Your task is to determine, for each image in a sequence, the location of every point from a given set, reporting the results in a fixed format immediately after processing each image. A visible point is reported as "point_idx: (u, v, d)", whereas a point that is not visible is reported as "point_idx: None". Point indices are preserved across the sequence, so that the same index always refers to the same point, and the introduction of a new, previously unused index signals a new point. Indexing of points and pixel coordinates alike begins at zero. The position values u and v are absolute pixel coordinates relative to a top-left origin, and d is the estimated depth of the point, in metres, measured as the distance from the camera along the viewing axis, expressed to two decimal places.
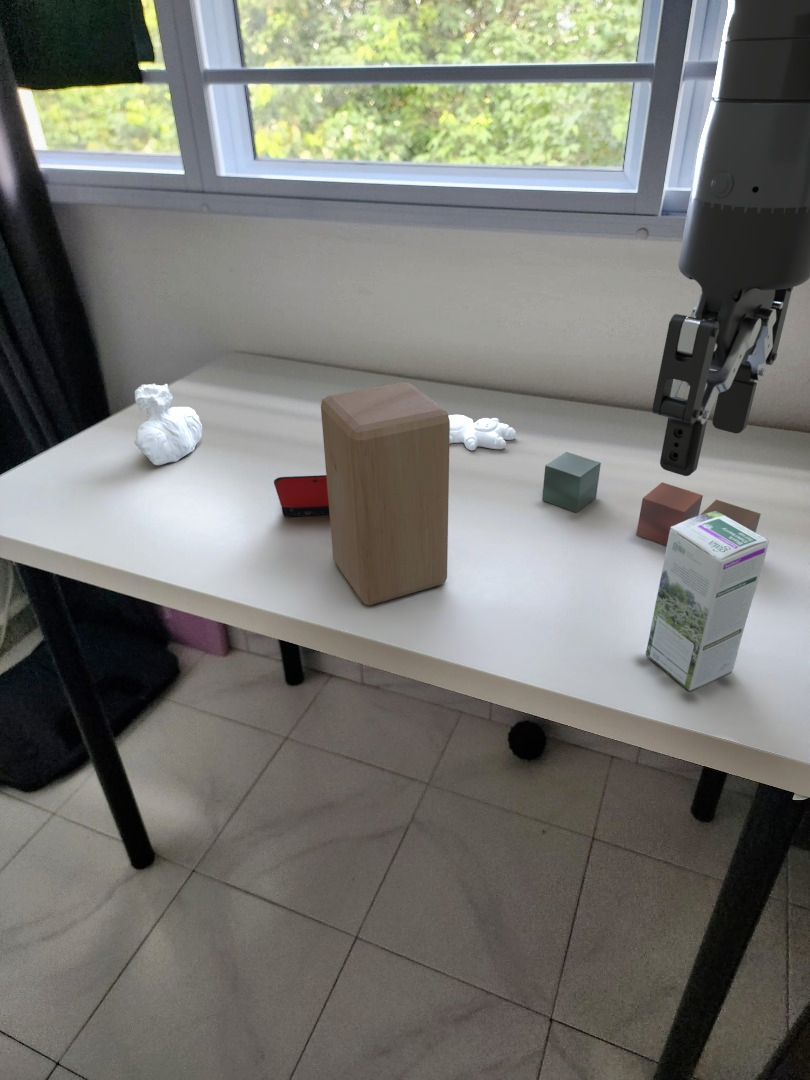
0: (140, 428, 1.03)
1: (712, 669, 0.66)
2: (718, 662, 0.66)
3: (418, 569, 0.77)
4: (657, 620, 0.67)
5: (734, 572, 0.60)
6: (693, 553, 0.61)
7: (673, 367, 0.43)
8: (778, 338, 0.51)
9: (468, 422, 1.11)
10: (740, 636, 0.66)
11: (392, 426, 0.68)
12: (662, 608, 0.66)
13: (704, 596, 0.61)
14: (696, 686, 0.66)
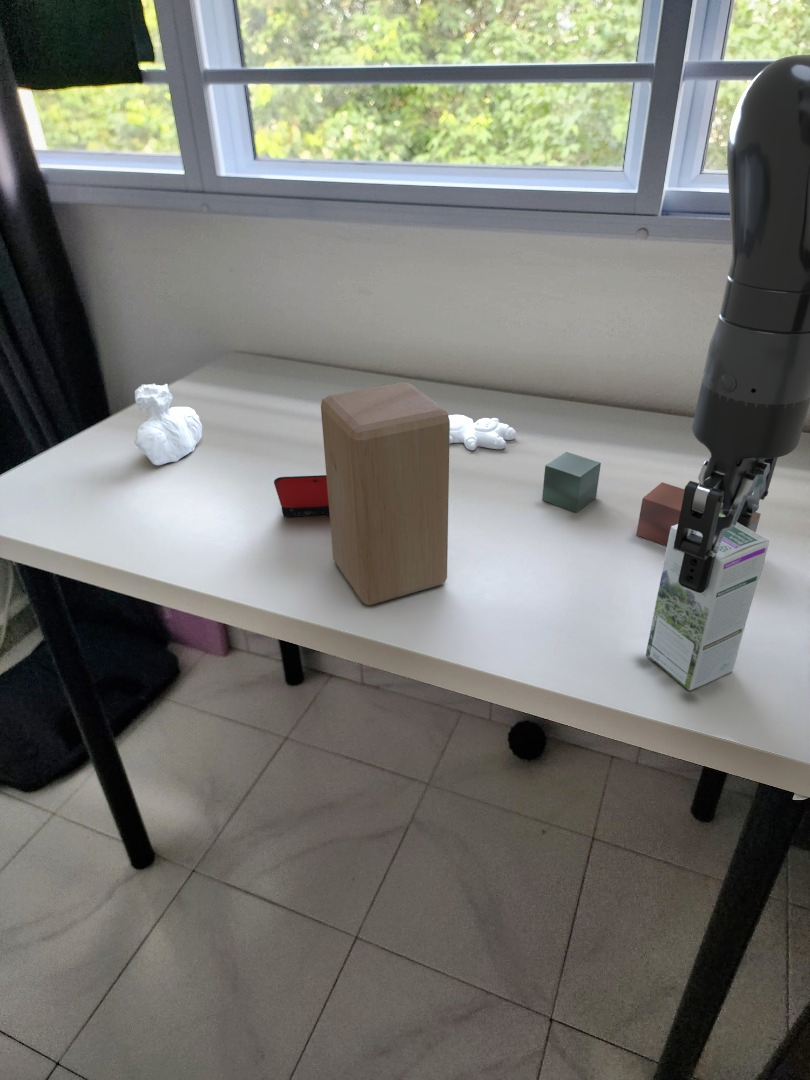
0: (140, 428, 1.03)
1: (712, 669, 0.66)
2: (718, 662, 0.66)
3: (418, 569, 0.77)
4: (657, 620, 0.67)
5: (735, 572, 0.60)
6: None
7: (689, 520, 0.55)
8: (769, 479, 0.63)
9: (468, 422, 1.11)
10: (740, 636, 0.66)
11: (392, 426, 0.68)
12: (662, 607, 0.66)
13: (704, 595, 0.61)
14: (696, 686, 0.66)
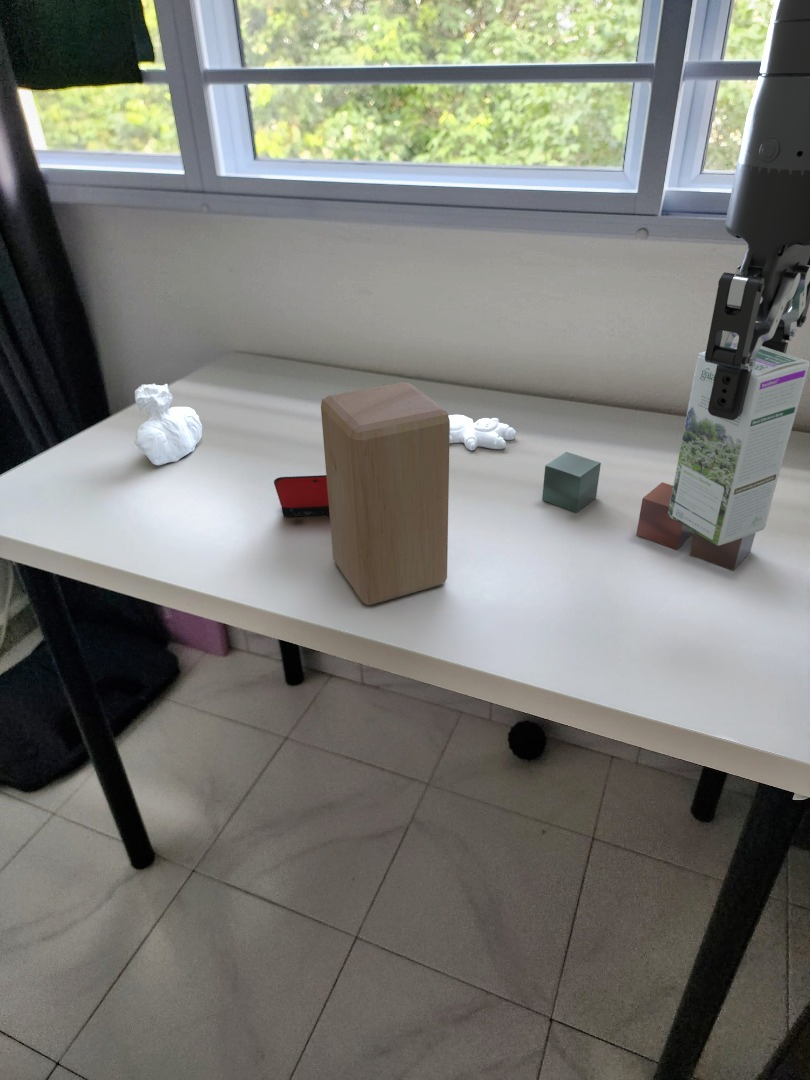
0: (140, 428, 1.03)
1: (742, 522, 0.59)
2: (749, 514, 0.59)
3: (418, 569, 0.77)
4: (681, 470, 0.61)
5: (771, 396, 0.54)
6: None
7: (723, 320, 0.49)
8: (808, 302, 0.57)
9: (468, 422, 1.11)
10: (774, 484, 0.59)
11: (392, 426, 0.68)
12: (688, 453, 0.59)
13: (737, 425, 0.54)
14: (725, 540, 0.60)
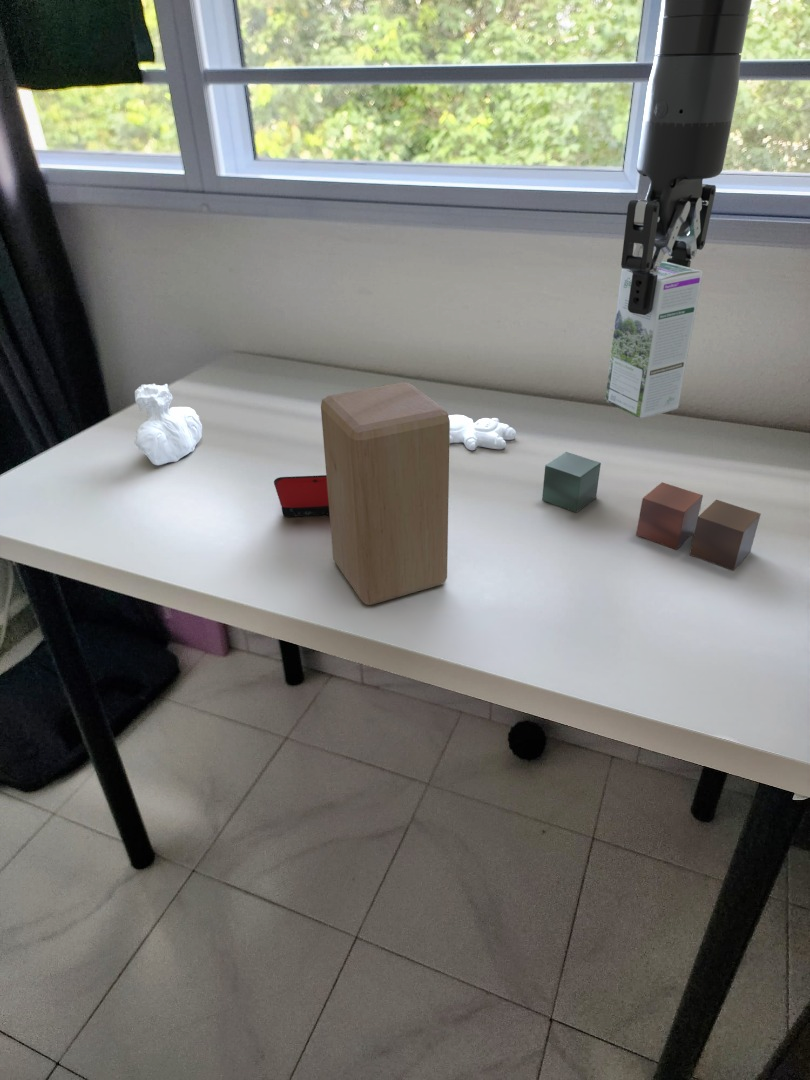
0: (140, 428, 1.03)
1: (659, 400, 0.78)
2: (664, 394, 0.78)
3: (418, 569, 0.77)
4: (613, 362, 0.79)
5: (674, 296, 0.72)
6: None
7: (632, 235, 0.67)
8: (705, 230, 0.75)
9: (468, 422, 1.11)
10: (683, 371, 0.78)
11: (392, 426, 0.68)
12: (617, 347, 0.78)
13: (649, 319, 0.73)
14: (645, 414, 0.78)
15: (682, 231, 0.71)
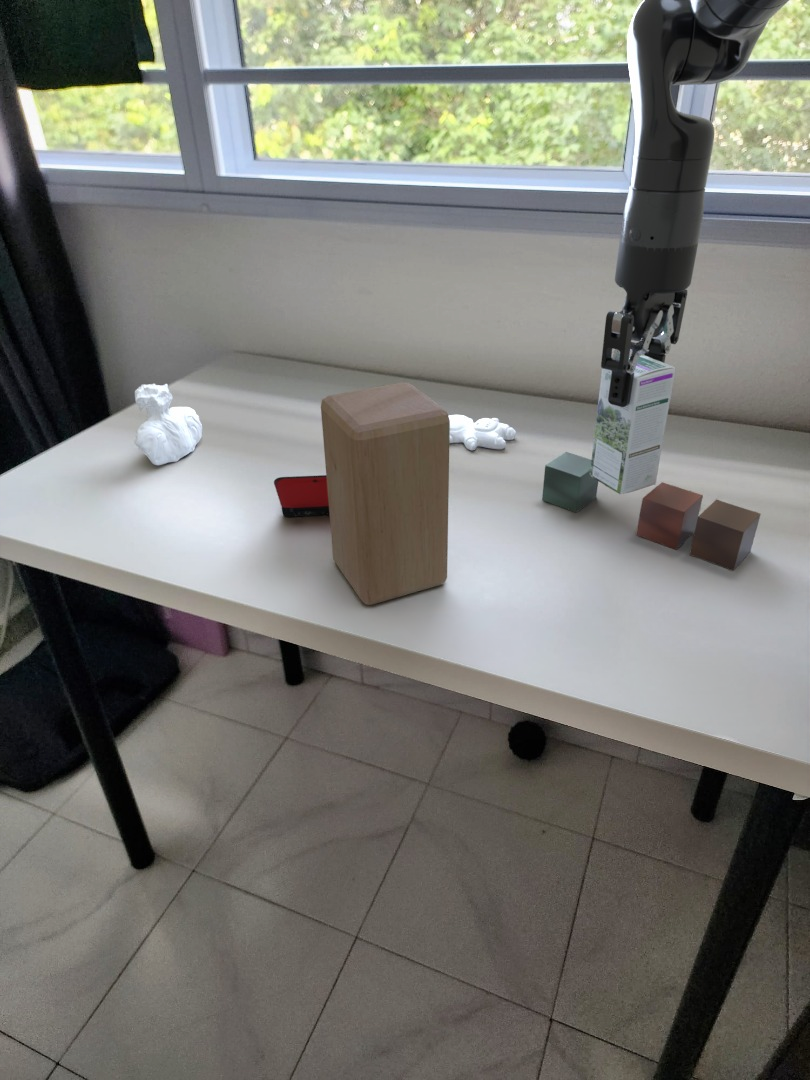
0: (140, 428, 1.03)
1: (637, 478, 0.86)
2: (642, 472, 0.86)
3: (418, 569, 0.77)
4: (596, 443, 0.87)
5: (649, 390, 0.80)
6: None
7: (610, 341, 0.75)
8: (679, 327, 0.83)
9: (468, 422, 1.11)
10: (659, 452, 0.86)
11: (392, 426, 0.68)
12: (600, 430, 0.86)
13: (627, 410, 0.81)
14: (625, 491, 0.86)
15: (656, 333, 0.79)
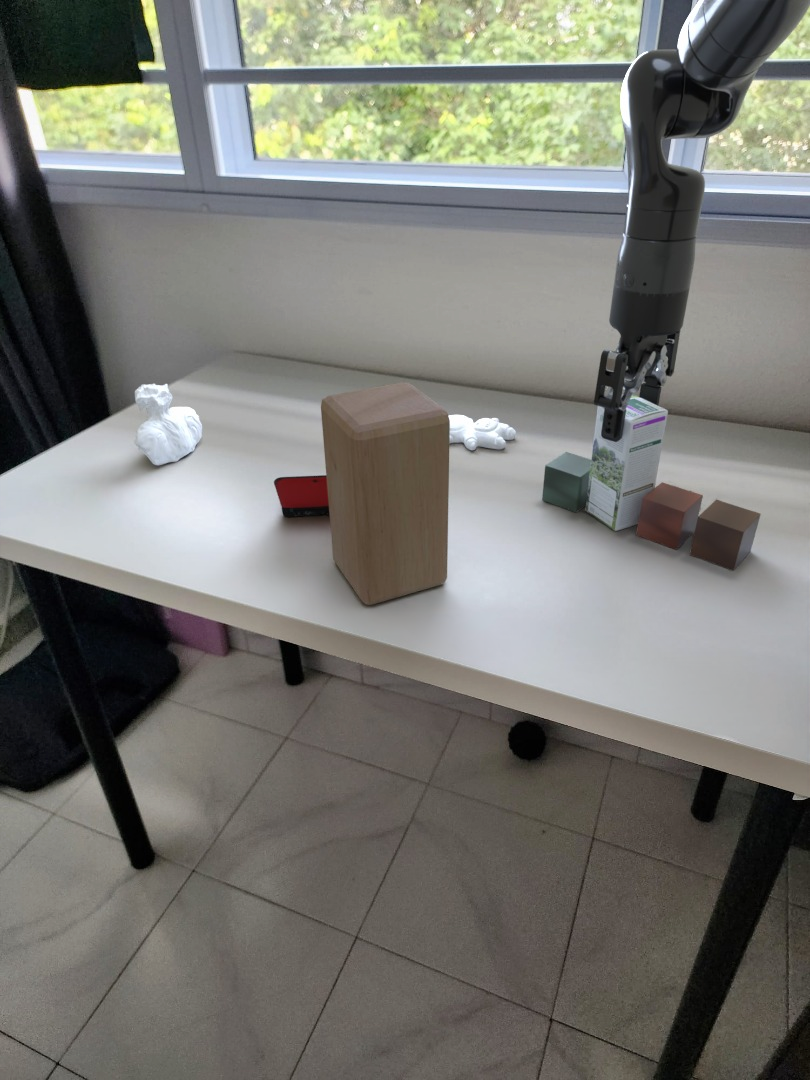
0: (140, 428, 1.03)
1: (631, 515, 0.89)
2: (636, 509, 0.88)
3: (418, 569, 0.77)
4: (591, 480, 0.90)
5: (642, 433, 0.83)
6: None
7: (604, 379, 0.77)
8: (674, 360, 0.86)
9: (468, 422, 1.11)
10: (652, 489, 0.88)
11: (392, 426, 0.68)
12: (595, 469, 0.89)
13: (621, 451, 0.83)
14: (620, 527, 0.89)
15: (651, 371, 0.82)
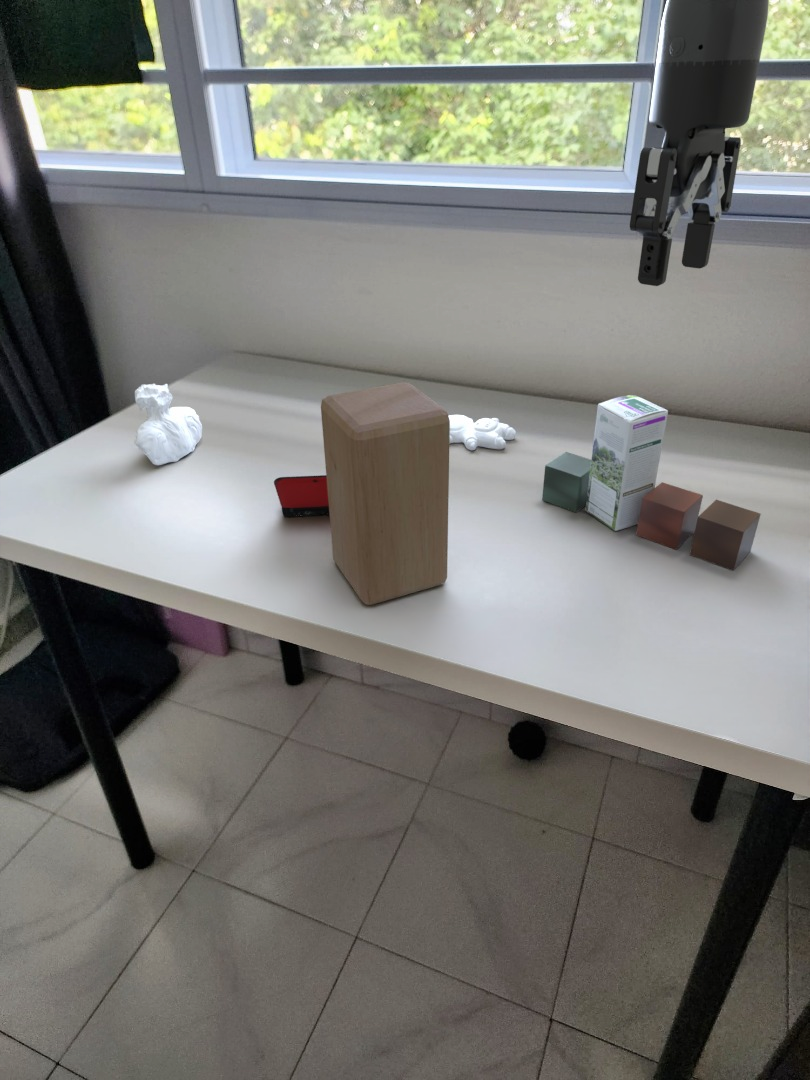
0: (140, 428, 1.03)
1: (631, 515, 0.89)
2: (636, 509, 0.88)
3: (418, 569, 0.77)
4: (591, 480, 0.90)
5: (642, 433, 0.83)
6: (613, 420, 0.83)
7: (644, 188, 0.58)
8: (731, 189, 0.66)
9: (468, 422, 1.11)
10: (652, 489, 0.88)
11: (392, 426, 0.68)
12: (595, 469, 0.89)
13: (621, 451, 0.83)
14: (620, 527, 0.89)
15: (703, 193, 0.63)
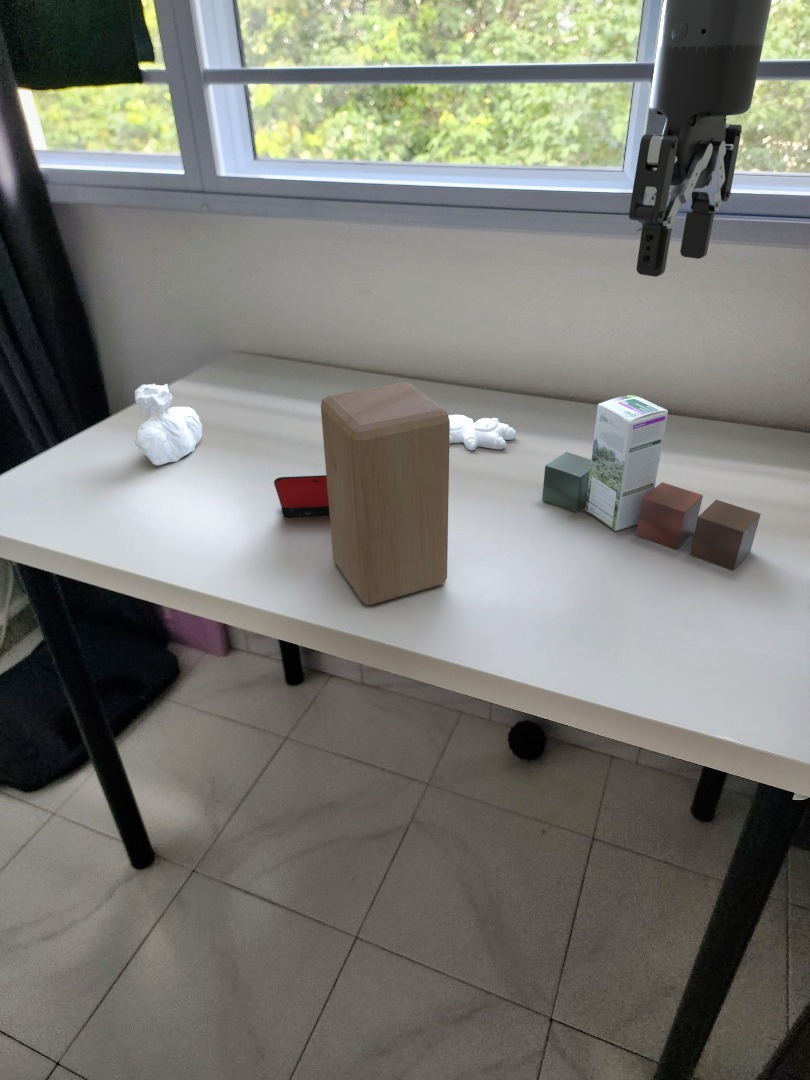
0: (140, 428, 1.03)
1: (631, 515, 0.89)
2: (636, 509, 0.88)
3: (418, 569, 0.77)
4: (591, 480, 0.90)
5: (642, 433, 0.83)
6: (613, 420, 0.83)
7: (644, 176, 0.57)
8: (731, 178, 0.65)
9: (468, 422, 1.11)
10: (652, 489, 0.88)
11: (392, 426, 0.68)
12: (595, 469, 0.89)
13: (621, 451, 0.83)
14: (620, 527, 0.89)
15: (703, 182, 0.61)
